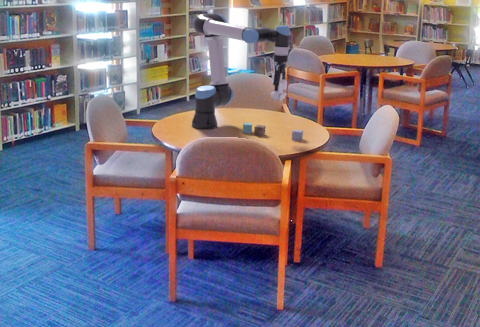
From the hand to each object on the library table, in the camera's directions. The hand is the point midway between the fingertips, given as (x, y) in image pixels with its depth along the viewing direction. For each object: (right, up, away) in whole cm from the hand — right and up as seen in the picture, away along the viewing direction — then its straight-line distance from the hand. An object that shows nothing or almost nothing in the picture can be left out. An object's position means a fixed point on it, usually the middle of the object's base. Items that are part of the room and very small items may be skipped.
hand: (278, 95), depth 328 cm
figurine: (0, -2, +1) cm, 3 cm away
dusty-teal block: (-17, -20, +12) cm, 29 cm away
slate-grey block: (+11, -25, +1) cm, 27 cm away
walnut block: (-10, -22, +8) cm, 25 cm away
